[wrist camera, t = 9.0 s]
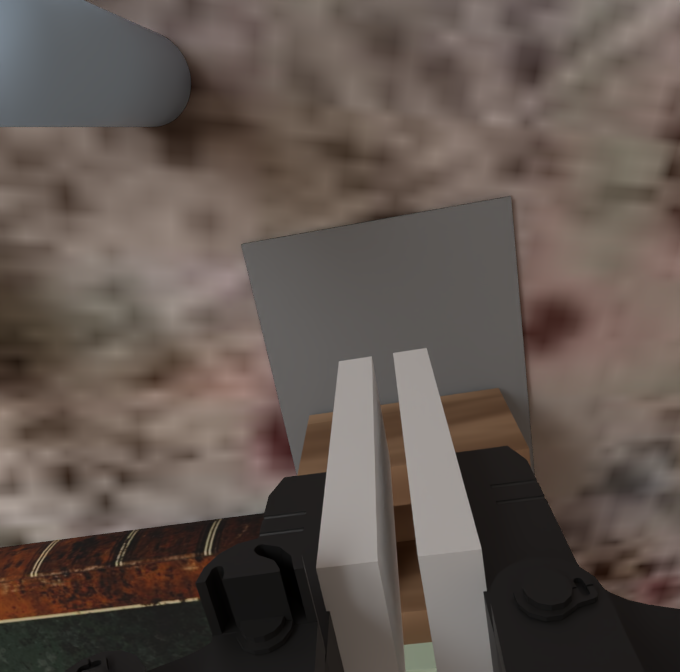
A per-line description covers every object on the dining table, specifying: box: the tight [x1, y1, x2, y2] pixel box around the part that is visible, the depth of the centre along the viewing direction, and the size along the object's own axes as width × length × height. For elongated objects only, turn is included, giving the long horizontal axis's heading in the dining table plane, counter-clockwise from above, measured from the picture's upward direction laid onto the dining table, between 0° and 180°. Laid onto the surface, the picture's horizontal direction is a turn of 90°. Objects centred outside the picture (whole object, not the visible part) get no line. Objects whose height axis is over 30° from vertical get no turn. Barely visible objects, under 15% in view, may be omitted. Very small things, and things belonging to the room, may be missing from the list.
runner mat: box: [241, 196, 535, 475], centre depth 31 cm, size 20×13×1 cm, turn 10°
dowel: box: [0, 0, 191, 127], centre depth 21 cm, size 4×4×12 cm
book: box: [0, 513, 264, 672], centre depth 36 cm, size 17×4×25 cm
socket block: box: [297, 388, 531, 645], centre depth 29 cm, size 10×10×6 cm
